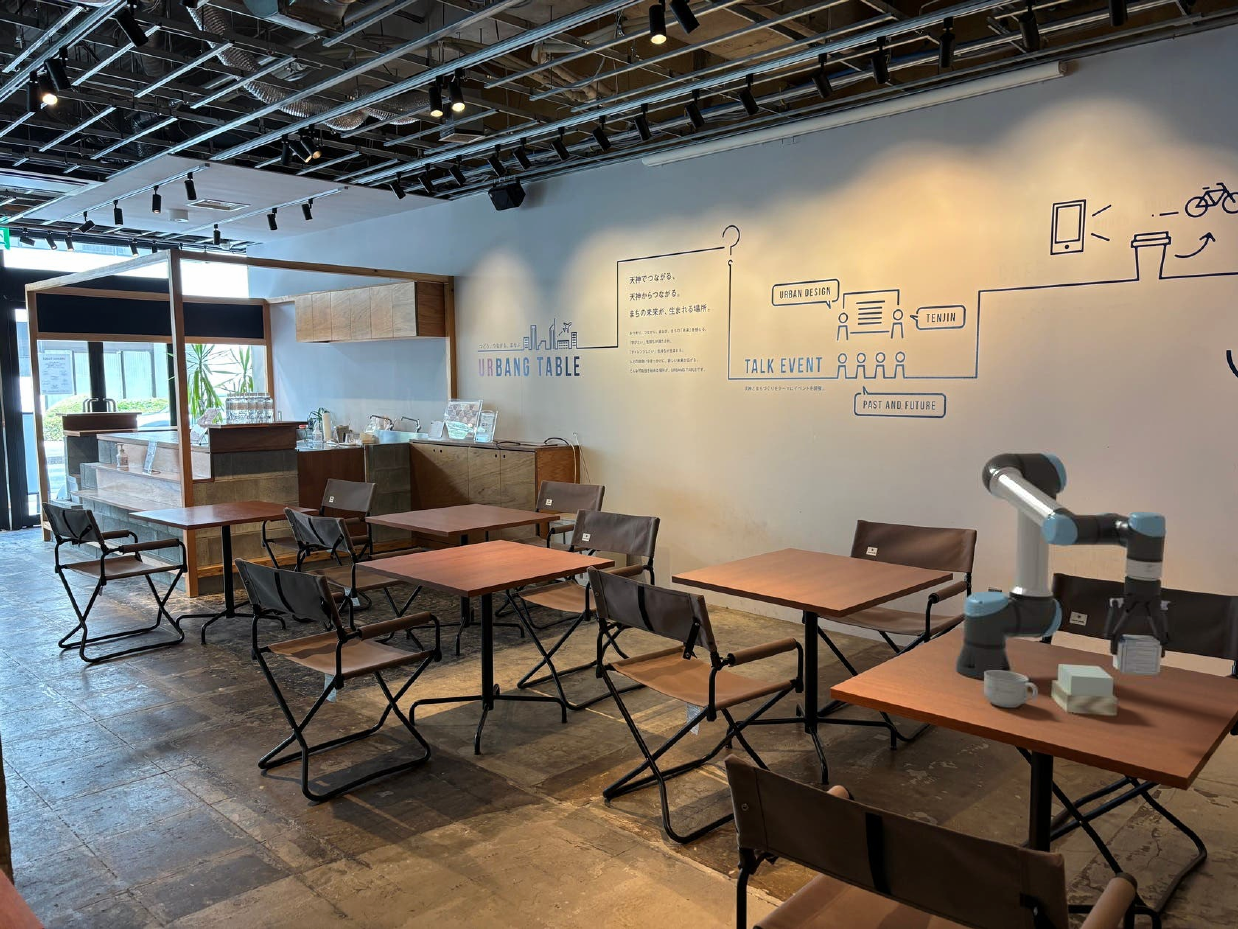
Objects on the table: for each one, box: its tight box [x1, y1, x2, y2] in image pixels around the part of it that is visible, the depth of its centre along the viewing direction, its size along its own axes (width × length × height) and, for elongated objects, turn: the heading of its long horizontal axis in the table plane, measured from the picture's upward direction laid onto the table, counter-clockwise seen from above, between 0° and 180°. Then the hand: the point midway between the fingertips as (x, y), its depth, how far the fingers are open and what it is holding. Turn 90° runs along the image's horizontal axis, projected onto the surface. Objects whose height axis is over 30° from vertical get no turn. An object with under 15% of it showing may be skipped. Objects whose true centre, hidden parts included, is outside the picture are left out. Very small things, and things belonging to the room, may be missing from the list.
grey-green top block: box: [1057, 663, 1114, 697], centre depth 229 cm, size 10×10×5 cm
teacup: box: [983, 670, 1039, 709], centre depth 229 cm, size 14×11×8 cm
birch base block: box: [1050, 679, 1119, 716], centre depth 230 cm, size 12×12×5 cm
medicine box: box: [1118, 634, 1160, 676], centre depth 211 cm, size 8×4×9 cm, turn 84°
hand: (1136, 669), depth 211 cm, fingers closed on medicine box, 8 cm apart
